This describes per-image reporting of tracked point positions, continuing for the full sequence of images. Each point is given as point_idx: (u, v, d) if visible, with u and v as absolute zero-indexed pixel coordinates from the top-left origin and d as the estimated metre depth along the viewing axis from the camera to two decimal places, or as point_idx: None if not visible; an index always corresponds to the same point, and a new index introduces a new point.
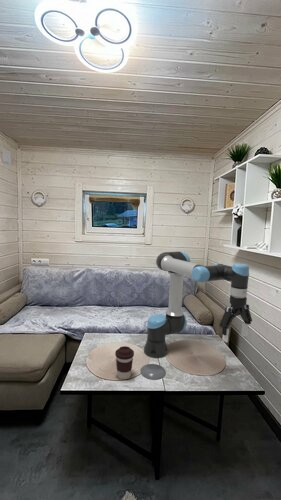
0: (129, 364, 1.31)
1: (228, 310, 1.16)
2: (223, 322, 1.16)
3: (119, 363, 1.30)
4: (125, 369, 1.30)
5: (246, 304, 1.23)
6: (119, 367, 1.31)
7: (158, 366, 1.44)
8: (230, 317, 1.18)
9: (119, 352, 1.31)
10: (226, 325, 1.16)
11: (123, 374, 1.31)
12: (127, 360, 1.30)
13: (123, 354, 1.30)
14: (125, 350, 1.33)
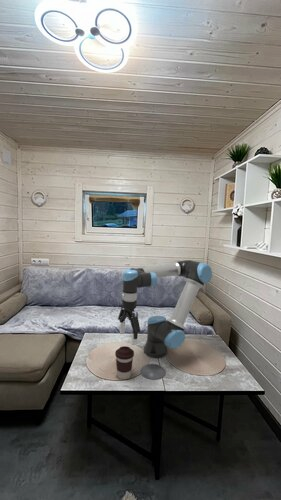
0: (129, 364, 1.31)
1: None
2: None
3: (119, 363, 1.30)
4: (125, 369, 1.30)
5: (134, 312, 1.25)
6: (119, 367, 1.31)
7: (158, 366, 1.44)
8: None
9: (119, 352, 1.31)
10: (120, 319, 1.37)
11: (123, 374, 1.31)
12: (127, 360, 1.30)
13: (123, 354, 1.30)
14: (125, 350, 1.33)
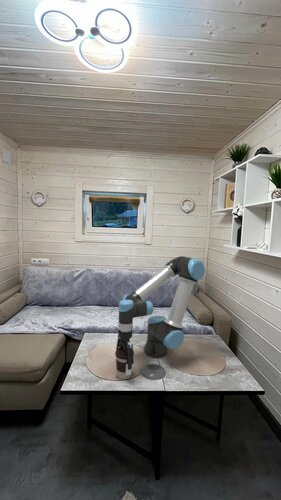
0: None
1: None
2: None
3: (119, 363, 1.30)
4: (125, 369, 1.30)
5: (129, 344, 1.27)
6: (119, 367, 1.31)
7: (158, 366, 1.44)
8: None
9: (119, 352, 1.31)
10: None
11: (123, 374, 1.31)
12: None
13: (123, 354, 1.30)
14: None
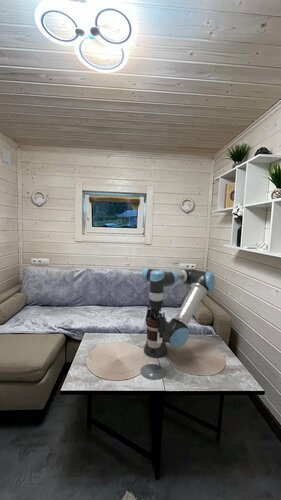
0: None
1: None
2: None
3: (150, 332, 1.33)
4: (156, 338, 1.33)
5: (161, 312, 1.30)
6: (150, 336, 1.33)
7: (158, 366, 1.44)
8: None
9: (150, 321, 1.34)
10: None
11: (154, 343, 1.33)
12: None
13: (154, 323, 1.32)
14: (155, 320, 1.36)
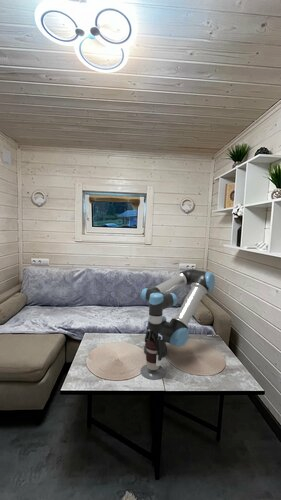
0: None
1: None
2: None
3: (149, 354, 1.34)
4: (155, 360, 1.34)
5: (160, 335, 1.31)
6: (149, 358, 1.35)
7: None
8: None
9: (149, 344, 1.35)
10: None
11: (153, 365, 1.35)
12: None
13: (153, 345, 1.34)
14: None
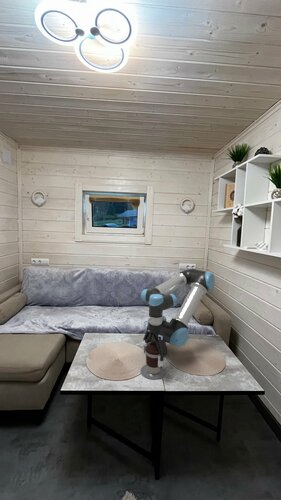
0: None
1: None
2: None
3: (149, 358, 1.35)
4: (155, 364, 1.34)
5: (160, 336, 1.31)
6: (149, 362, 1.35)
7: None
8: None
9: (149, 348, 1.35)
10: (145, 339, 1.44)
11: (153, 369, 1.35)
12: (157, 356, 1.34)
13: (153, 350, 1.34)
14: (155, 346, 1.38)
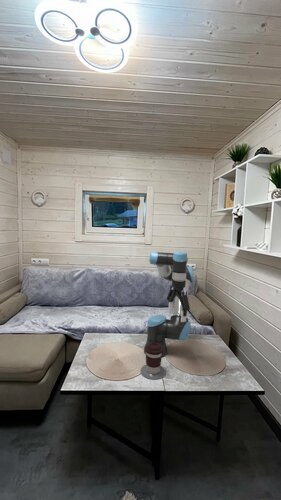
0: (159, 359, 1.35)
1: None
2: None
3: (149, 358, 1.35)
4: (155, 364, 1.35)
5: (183, 291, 1.32)
6: (149, 362, 1.35)
7: None
8: None
9: (149, 348, 1.35)
10: (169, 298, 1.45)
11: (153, 369, 1.35)
12: (157, 355, 1.34)
13: (153, 350, 1.34)
14: (154, 346, 1.38)
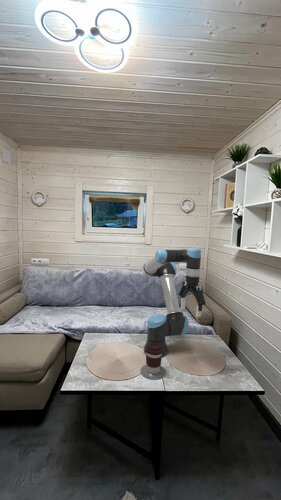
0: (159, 359, 1.35)
1: None
2: None
3: (149, 359, 1.35)
4: (155, 364, 1.34)
5: None
6: (149, 362, 1.35)
7: None
8: None
9: (149, 348, 1.35)
10: None
11: (153, 369, 1.35)
12: (157, 356, 1.34)
13: (153, 350, 1.34)
14: (155, 346, 1.37)
